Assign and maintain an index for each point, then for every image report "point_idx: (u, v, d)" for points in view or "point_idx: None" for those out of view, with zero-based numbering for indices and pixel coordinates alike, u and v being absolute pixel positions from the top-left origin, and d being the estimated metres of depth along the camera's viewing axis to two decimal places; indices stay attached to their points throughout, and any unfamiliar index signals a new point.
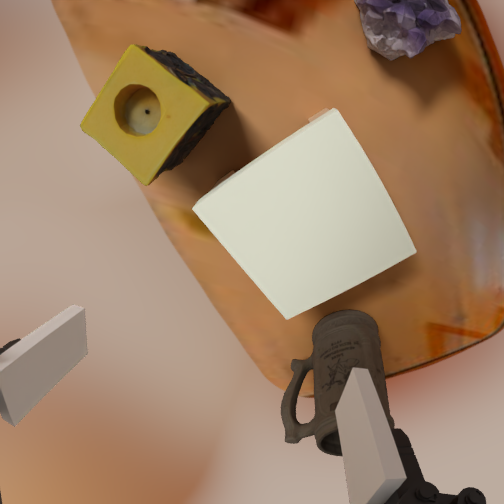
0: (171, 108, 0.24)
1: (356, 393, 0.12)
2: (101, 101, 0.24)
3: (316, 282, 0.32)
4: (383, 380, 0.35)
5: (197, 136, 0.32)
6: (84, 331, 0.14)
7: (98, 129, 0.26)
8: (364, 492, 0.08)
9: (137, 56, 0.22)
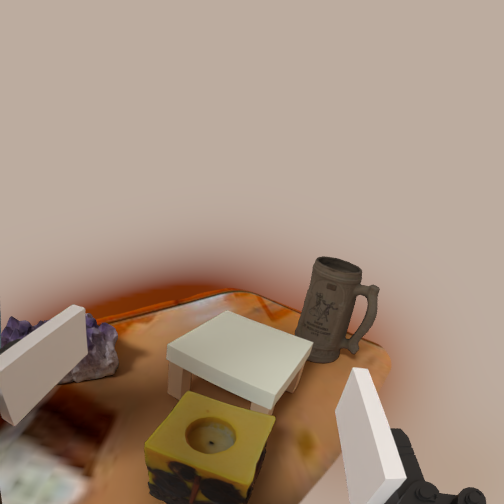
0: (200, 410, 0.29)
1: (355, 393, 0.12)
2: (211, 465, 0.22)
3: (276, 337, 0.48)
4: None
5: None
6: (84, 331, 0.14)
7: (243, 463, 0.23)
8: (364, 492, 0.08)
9: (156, 438, 0.24)
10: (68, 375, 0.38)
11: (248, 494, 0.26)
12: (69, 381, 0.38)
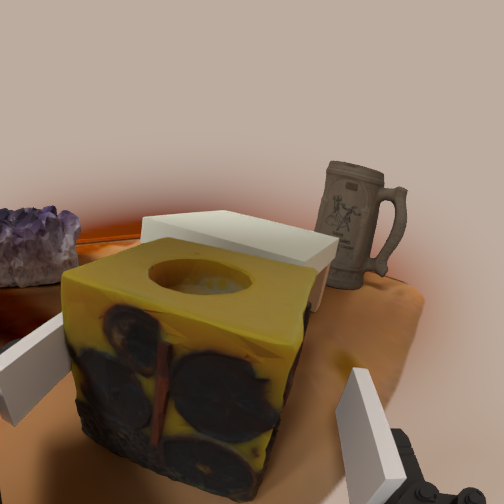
0: (183, 251, 0.18)
1: (356, 393, 0.12)
2: (199, 309, 0.11)
3: (291, 229, 0.37)
4: None
5: None
6: None
7: (274, 313, 0.12)
8: (364, 492, 0.08)
9: (90, 267, 0.12)
10: (9, 274, 0.26)
11: (274, 430, 0.14)
12: (10, 285, 0.27)
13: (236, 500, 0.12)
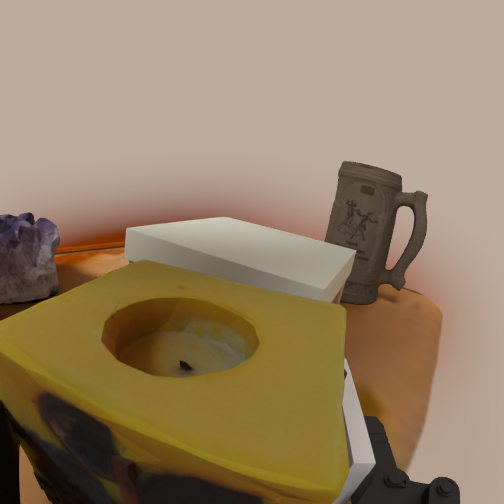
0: (162, 285, 0.12)
1: None
2: (172, 416, 0.06)
3: (301, 240, 0.32)
4: None
5: None
6: None
7: (298, 411, 0.06)
8: None
9: (21, 321, 0.07)
10: None
11: None
12: None
13: None
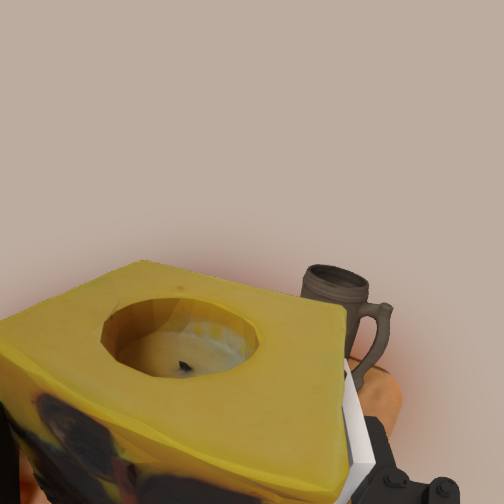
0: (162, 285, 0.12)
1: None
2: (172, 417, 0.06)
3: None
4: None
5: None
6: None
7: (297, 412, 0.06)
8: None
9: (21, 321, 0.07)
10: None
11: None
12: None
13: None
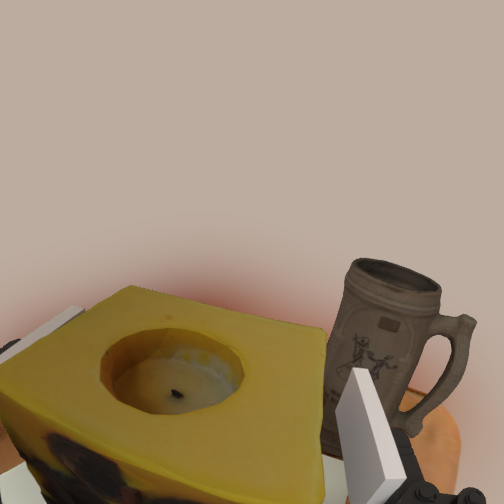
0: (151, 314, 0.13)
1: (355, 393, 0.12)
2: (171, 453, 0.06)
3: None
4: (331, 332, 0.31)
5: None
6: None
7: (280, 442, 0.07)
8: (364, 492, 0.08)
9: (23, 362, 0.07)
10: None
11: None
12: None
13: None
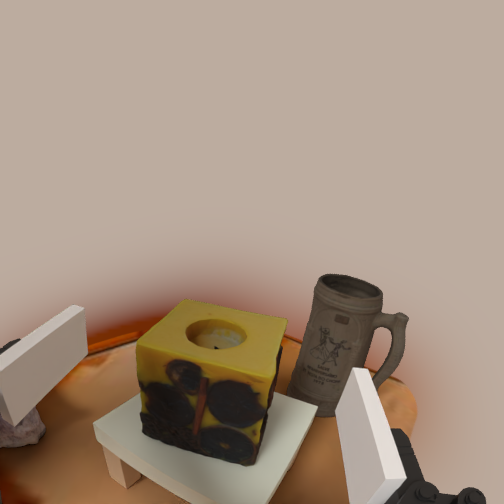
0: (201, 313, 0.27)
1: (356, 393, 0.12)
2: (221, 359, 0.20)
3: None
4: None
5: None
6: (84, 331, 0.14)
7: (260, 357, 0.21)
8: (364, 492, 0.08)
9: (151, 336, 0.22)
10: None
11: (264, 421, 0.24)
12: None
13: (244, 465, 0.21)
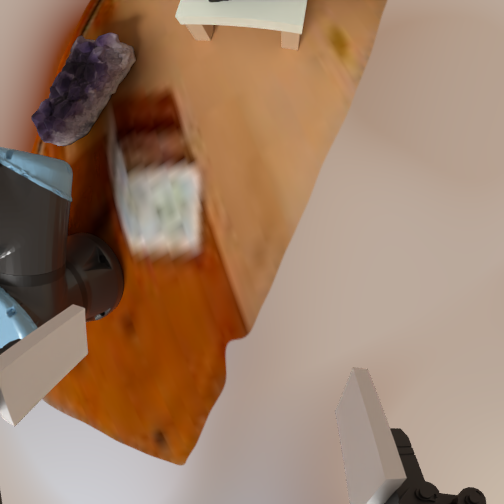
0: None
1: (356, 393, 0.12)
2: None
3: None
4: None
5: None
6: (84, 331, 0.14)
7: None
8: (364, 492, 0.08)
9: None
10: (105, 97, 0.41)
11: None
12: (109, 98, 0.42)
13: None
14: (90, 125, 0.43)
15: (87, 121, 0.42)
